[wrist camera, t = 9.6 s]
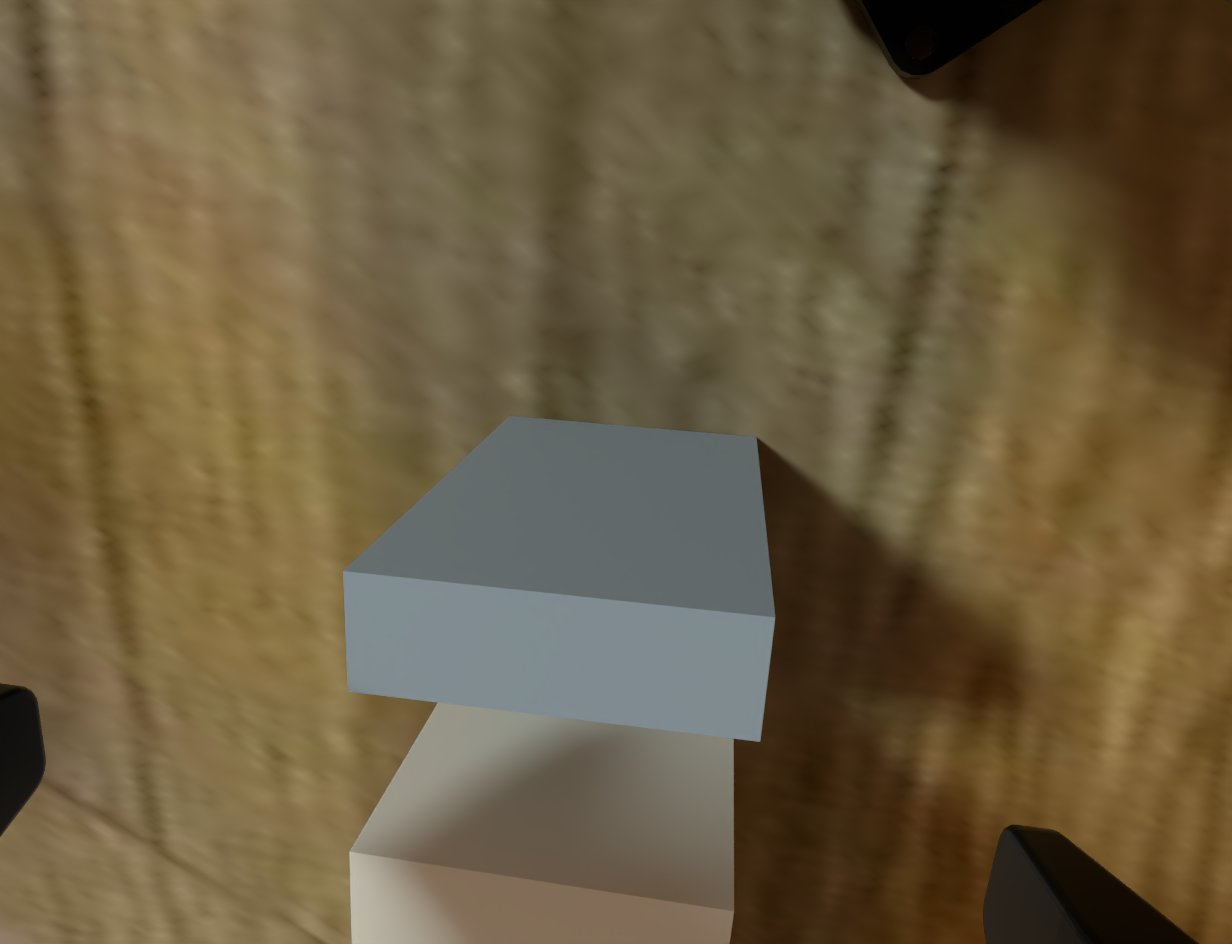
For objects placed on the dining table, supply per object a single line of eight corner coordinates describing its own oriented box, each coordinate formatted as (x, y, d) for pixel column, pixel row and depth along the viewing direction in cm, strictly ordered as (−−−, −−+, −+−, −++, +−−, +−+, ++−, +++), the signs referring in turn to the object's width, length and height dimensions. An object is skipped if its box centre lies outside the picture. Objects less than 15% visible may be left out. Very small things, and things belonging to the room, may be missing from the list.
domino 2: (503, 593, 19) (348, 851, 11) (733, 621, 18) (734, 911, 11) (500, 658, 19) (351, 949, 12) (724, 687, 19) (720, 1010, 11)
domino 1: (510, 416, 18) (343, 571, 10) (756, 437, 17) (775, 617, 10) (508, 490, 18) (347, 691, 11) (748, 512, 18) (759, 741, 10)
